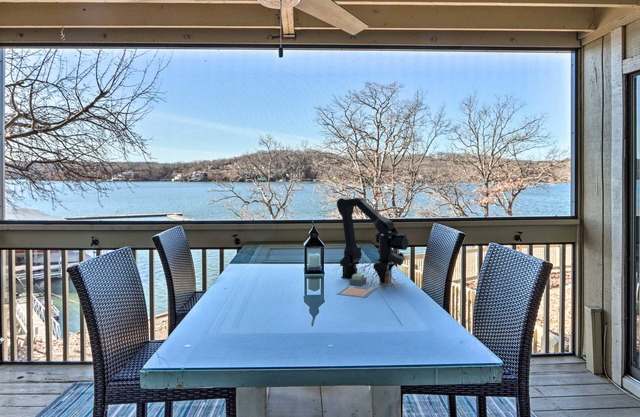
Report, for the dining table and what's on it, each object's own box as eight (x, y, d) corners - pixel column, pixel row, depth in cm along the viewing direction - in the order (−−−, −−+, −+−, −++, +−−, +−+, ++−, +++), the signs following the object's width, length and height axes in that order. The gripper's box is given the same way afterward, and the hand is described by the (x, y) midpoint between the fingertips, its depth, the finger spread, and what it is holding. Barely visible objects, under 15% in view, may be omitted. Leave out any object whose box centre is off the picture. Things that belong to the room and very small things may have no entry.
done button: (352, 279, 194) (352, 275, 194) (355, 277, 198) (355, 273, 198) (361, 280, 192) (361, 276, 192) (364, 278, 196) (364, 274, 196)
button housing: (349, 284, 194) (349, 279, 194) (354, 281, 199) (354, 276, 199) (362, 285, 191) (362, 280, 191) (366, 282, 197) (366, 277, 197)
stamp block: (379, 284, 193) (379, 271, 192) (382, 282, 197) (382, 269, 197) (388, 285, 191) (389, 272, 191) (391, 283, 195) (391, 270, 195)
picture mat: (336, 294, 178) (336, 293, 178) (348, 285, 191) (348, 285, 191) (365, 297, 172) (365, 297, 172) (376, 288, 186) (376, 288, 186)
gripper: (397, 252, 181) (397, 287, 182) (407, 245, 198) (407, 278, 199) (373, 250, 186) (373, 285, 187) (384, 244, 202) (384, 276, 204)
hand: (385, 281), depth 194 cm, fingers open, 8 cm apart
